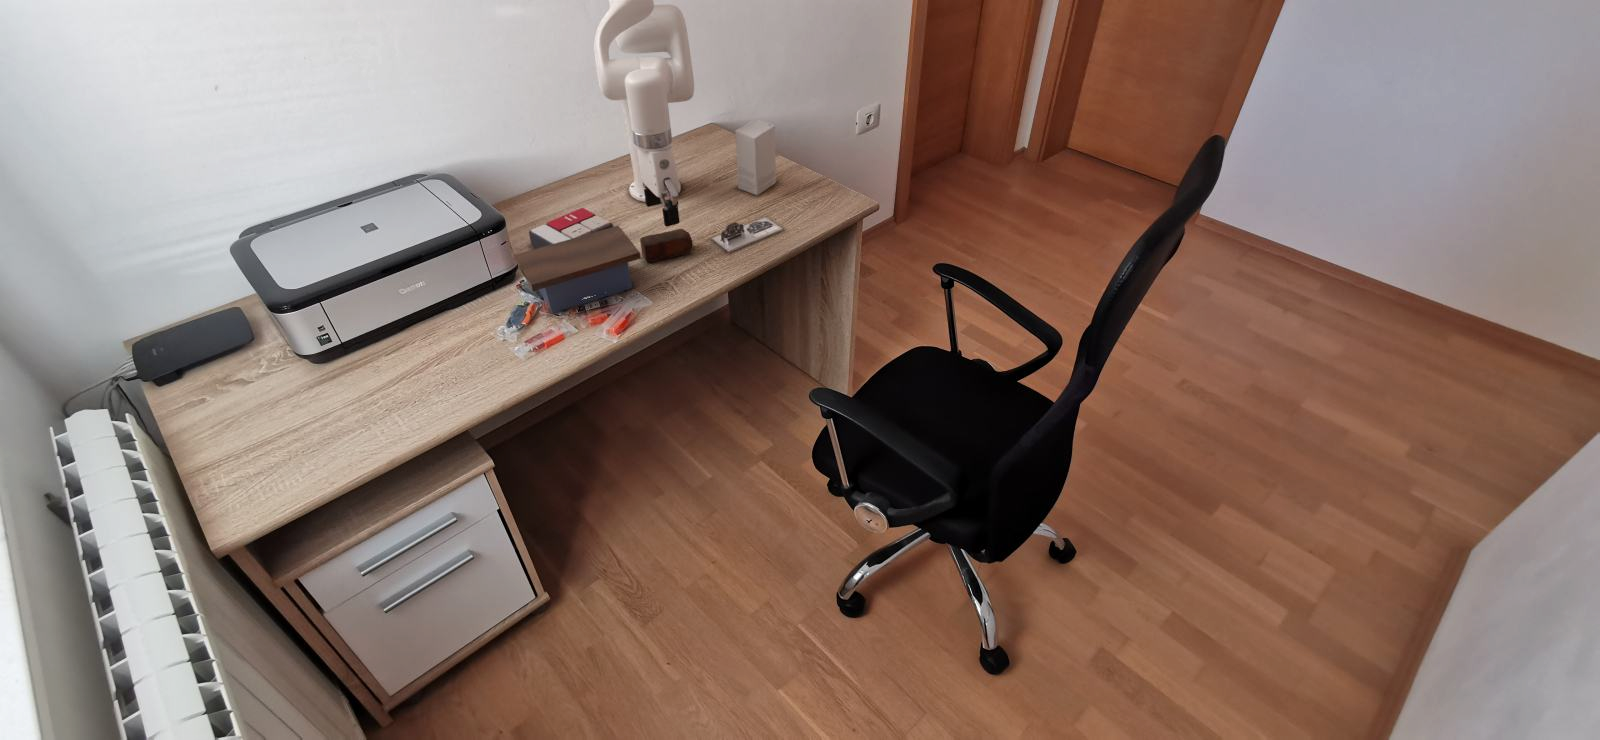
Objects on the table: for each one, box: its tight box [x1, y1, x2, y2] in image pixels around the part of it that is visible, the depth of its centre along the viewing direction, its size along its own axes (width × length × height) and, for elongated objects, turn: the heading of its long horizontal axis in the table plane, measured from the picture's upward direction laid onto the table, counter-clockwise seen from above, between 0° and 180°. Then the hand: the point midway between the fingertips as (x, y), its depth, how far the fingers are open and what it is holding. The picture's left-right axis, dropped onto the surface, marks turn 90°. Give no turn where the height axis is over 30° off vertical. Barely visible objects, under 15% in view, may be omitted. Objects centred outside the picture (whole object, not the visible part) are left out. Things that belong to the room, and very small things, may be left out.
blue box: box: [538, 262, 633, 314], centre depth 153 cm, size 10×17×7 cm, turn 121°
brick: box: [639, 228, 694, 263], centre depth 163 cm, size 11×4×5 cm, turn 116°
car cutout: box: [712, 216, 783, 253], centre depth 169 cm, size 15×7×4 cm, turn 129°
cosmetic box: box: [734, 118, 777, 196], centre depth 183 cm, size 8×7×16 cm
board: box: [513, 225, 642, 292], centre depth 150 cm, size 12×22×2 cm, turn 121°
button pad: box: [528, 207, 614, 249], centre depth 167 cm, size 11×4×15 cm
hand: (662, 214), depth 157 cm, fingers open, 9 cm apart
